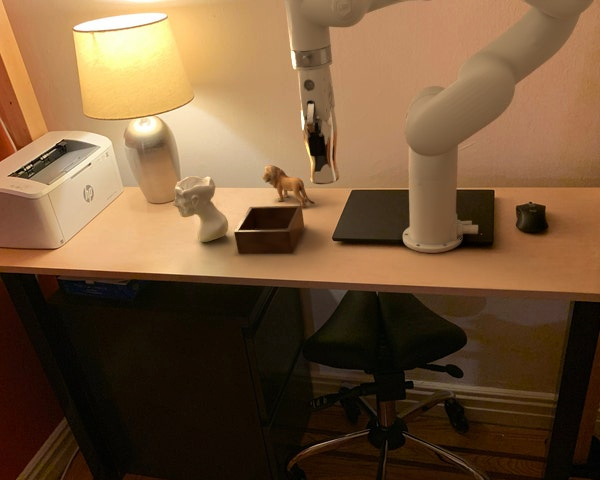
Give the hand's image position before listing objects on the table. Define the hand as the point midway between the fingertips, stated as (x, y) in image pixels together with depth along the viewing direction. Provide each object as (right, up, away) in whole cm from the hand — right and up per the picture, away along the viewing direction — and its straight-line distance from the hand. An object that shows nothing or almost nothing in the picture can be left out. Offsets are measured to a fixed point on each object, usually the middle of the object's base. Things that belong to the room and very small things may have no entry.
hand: (321, 147), depth 121 cm
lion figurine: (-7, -6, +32) cm, 33 cm away
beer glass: (+1, -6, +4) cm, 7 cm away
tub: (-11, -17, +15) cm, 25 cm away
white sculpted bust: (-26, -17, +19) cm, 37 cm away
